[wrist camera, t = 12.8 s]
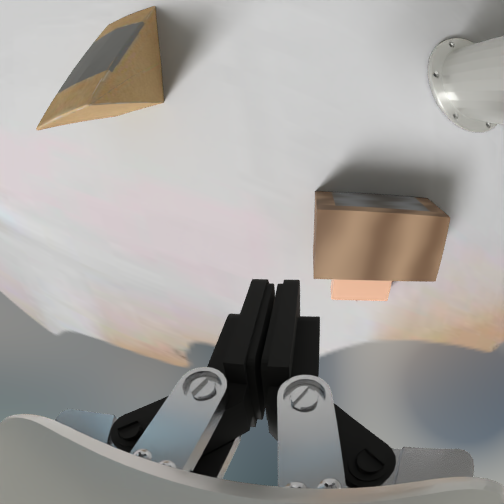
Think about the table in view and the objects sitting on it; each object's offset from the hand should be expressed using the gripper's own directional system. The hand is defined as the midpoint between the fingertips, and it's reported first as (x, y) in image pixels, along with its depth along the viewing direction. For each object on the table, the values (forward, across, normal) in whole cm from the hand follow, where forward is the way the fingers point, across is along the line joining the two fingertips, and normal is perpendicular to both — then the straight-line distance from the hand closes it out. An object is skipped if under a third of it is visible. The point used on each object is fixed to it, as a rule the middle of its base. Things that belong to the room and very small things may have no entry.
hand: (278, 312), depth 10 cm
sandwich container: (+26, +20, -18) cm, 38 cm away
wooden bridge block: (+26, -9, +7) cm, 29 cm away
